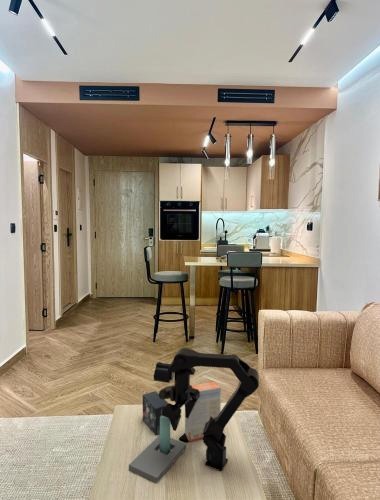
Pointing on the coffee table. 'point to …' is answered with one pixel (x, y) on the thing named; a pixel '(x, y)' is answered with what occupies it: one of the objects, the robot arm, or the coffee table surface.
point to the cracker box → (203, 410)
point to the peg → (164, 435)
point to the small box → (153, 410)
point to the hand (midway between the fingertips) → (181, 423)
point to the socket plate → (156, 460)
